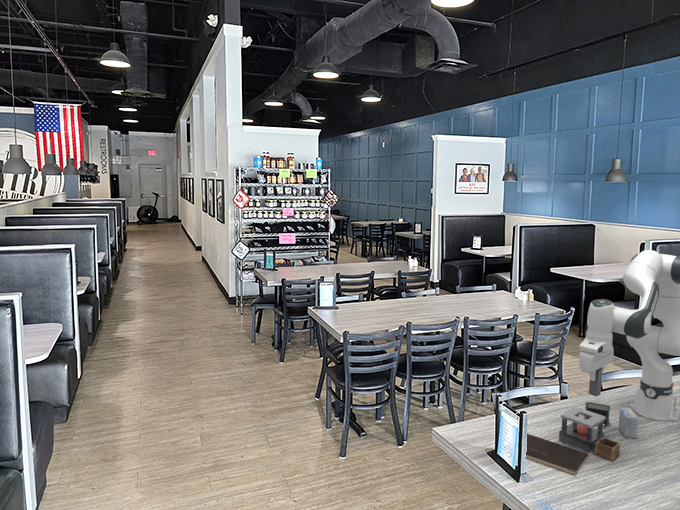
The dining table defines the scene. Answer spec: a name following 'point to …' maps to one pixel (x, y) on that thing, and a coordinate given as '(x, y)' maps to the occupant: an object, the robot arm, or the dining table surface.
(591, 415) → the grey ball cage
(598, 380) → the dark gray rectangular block
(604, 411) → the electrical switch
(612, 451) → the brown wooden box
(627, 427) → the medicine box
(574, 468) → the hardcover book
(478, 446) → the dining table surface
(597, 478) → the dining table surface
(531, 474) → the dining table surface
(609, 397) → the dining table surface
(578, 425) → the button
